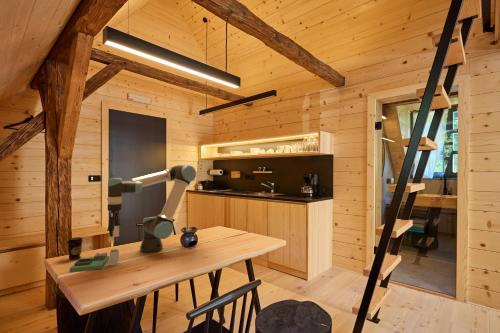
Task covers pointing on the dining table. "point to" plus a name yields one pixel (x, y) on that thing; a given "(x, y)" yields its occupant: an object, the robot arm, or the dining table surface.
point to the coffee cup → (74, 248)
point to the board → (90, 263)
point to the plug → (114, 257)
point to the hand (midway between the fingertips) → (113, 239)
